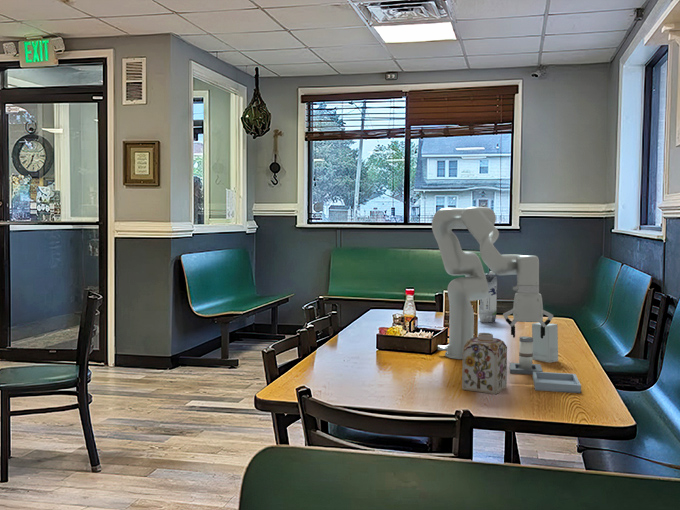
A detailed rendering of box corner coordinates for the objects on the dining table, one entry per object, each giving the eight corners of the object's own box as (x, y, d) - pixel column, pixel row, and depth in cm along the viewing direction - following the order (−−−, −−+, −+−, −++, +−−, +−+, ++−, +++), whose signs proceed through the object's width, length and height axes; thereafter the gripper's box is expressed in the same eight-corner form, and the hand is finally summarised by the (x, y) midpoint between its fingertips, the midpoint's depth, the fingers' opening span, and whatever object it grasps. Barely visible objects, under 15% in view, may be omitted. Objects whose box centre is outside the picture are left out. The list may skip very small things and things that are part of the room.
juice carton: (479, 322, 351) (480, 271, 349) (478, 319, 361) (479, 270, 359) (496, 323, 349) (497, 272, 348) (495, 320, 359) (496, 270, 358)
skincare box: (558, 362, 256) (559, 324, 255) (548, 364, 252) (549, 325, 251) (541, 358, 263) (542, 321, 262) (530, 360, 259) (531, 322, 258)
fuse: (518, 371, 237) (519, 338, 236) (518, 368, 242) (519, 336, 241) (532, 372, 236) (533, 339, 235) (532, 369, 241) (533, 336, 240)
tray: (535, 390, 214) (535, 382, 214) (532, 378, 230) (532, 371, 230) (580, 393, 211) (581, 385, 211) (575, 381, 226) (575, 373, 226)
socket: (509, 374, 235) (510, 369, 235) (509, 366, 248) (509, 361, 248) (542, 376, 232) (542, 371, 232) (539, 368, 245) (540, 362, 245)
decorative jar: (473, 382, 224) (474, 329, 223) (507, 387, 218) (508, 332, 217) (460, 390, 214) (461, 334, 213) (496, 395, 208) (497, 338, 207)
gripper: (503, 290, 235) (503, 338, 236) (554, 291, 231) (554, 339, 232) (502, 288, 243) (502, 335, 243) (552, 289, 239) (552, 336, 239)
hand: (527, 337), depth 238 cm, fingers open, 9 cm apart
